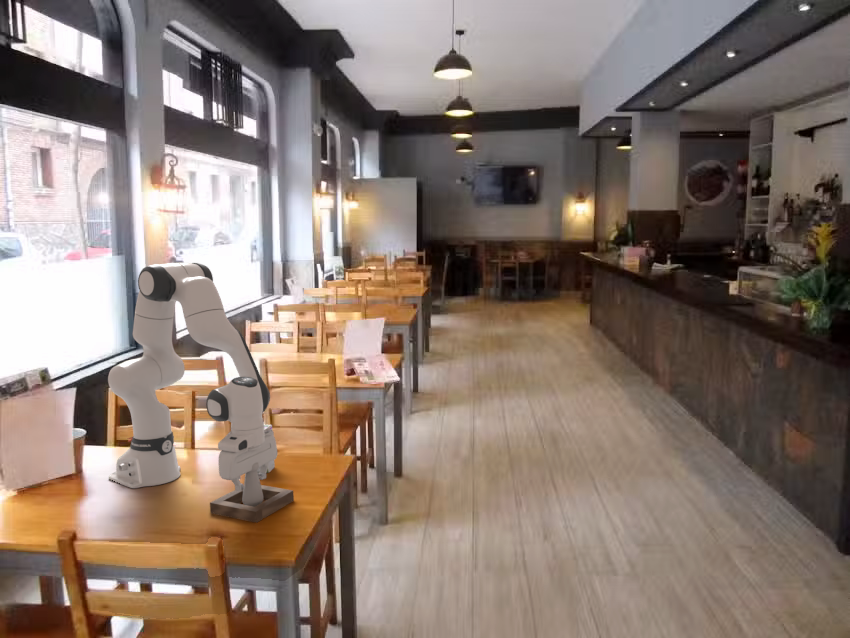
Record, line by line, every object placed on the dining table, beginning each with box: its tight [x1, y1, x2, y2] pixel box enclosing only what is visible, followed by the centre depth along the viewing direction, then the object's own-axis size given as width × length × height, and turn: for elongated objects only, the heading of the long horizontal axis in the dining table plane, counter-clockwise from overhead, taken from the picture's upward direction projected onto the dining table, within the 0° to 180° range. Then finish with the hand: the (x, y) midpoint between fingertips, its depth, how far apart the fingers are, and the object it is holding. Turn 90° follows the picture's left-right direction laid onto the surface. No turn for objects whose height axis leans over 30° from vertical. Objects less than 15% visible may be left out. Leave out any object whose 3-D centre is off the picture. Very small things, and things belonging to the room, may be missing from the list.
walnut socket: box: [209, 484, 295, 523], centre depth 191 cm, size 16×16×3 cm
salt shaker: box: [242, 463, 264, 507], centre depth 190 cm, size 6×6×13 cm
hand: (251, 484), depth 190 cm, fingers open, 8 cm apart
